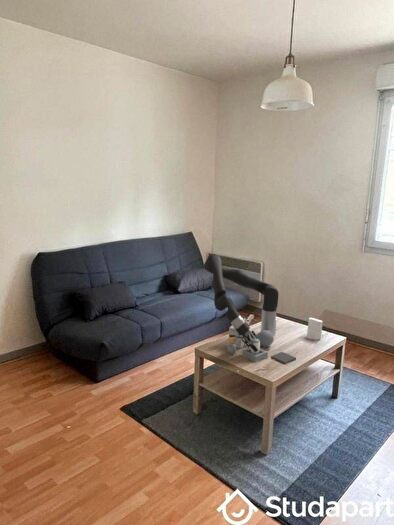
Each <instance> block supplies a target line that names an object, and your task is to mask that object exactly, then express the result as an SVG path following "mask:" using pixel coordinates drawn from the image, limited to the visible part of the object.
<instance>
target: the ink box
mask: <svg viewBox="0 0 394 525" xmlns="http://www.w3.org/2000/svg"><path fill="white" fill-rule="evenodd" d="M230 337H233V338H235V339H236V342H235V344H236V348H239V349H242V348H243V347H244V345H245V343H244V342H243V341H242V339H243V336H242V335H239V334H238V332H237V331H236V330H235V328H234V327H233V326H232V325H231V326H229V329H228V339H229V338H230ZM227 343H228V344H229V341H228V342H227ZM228 344H227V345H228Z"/></svg>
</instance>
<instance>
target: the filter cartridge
mask: <svg viewBox="0 0 394 525" xmlns="http://www.w3.org/2000/svg"><path fill="white" fill-rule="evenodd" d="M252 340H253V341H252V342H253V344H254V345H255V346H256V348H257V349H258V351H256V352H254V350H253V349H252V348H251V347H250V348H251V353H252V354H254V355H257V354H259V352H260V349H261V348H260V340H259V339H256V337H255V338H254V339H252Z"/></svg>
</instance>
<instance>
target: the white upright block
mask: <svg viewBox="0 0 394 525" xmlns="http://www.w3.org/2000/svg"><path fill="white" fill-rule="evenodd" d="M307 323H308V324H307V330H306V333H307V334H306V337H307V338H308V339H310V338H311V340H314V339H318V340H321V339H322V334H323V332H322V331H323V320H321V319H317V318H314V317H309V318H308V322H307Z"/></svg>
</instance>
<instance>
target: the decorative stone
mask: <svg viewBox="0 0 394 525" xmlns="http://www.w3.org/2000/svg"><path fill="white" fill-rule="evenodd" d="M256 336H257V337H258V339H259V340H260V345H261V347H265V348H267V347H270V346H271V345H272V344H273V342H274V336H273V335H272V333H271V332H270V331H268V330H262V331H261V330H260V331H259V332H258V334H256Z"/></svg>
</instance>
